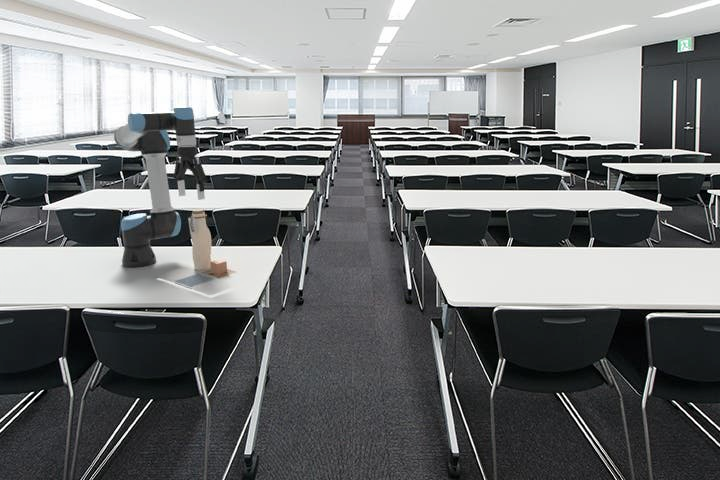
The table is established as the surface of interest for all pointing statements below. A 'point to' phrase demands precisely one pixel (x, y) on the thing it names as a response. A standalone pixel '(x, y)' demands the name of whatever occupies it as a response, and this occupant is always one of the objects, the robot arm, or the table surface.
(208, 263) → the water bottle
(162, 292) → the table surface
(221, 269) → the terracotta block
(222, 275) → the walnut mat
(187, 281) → the slate mat
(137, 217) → the robot arm
